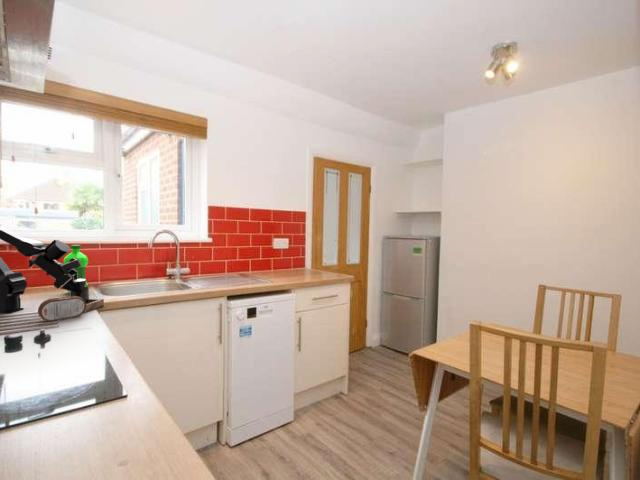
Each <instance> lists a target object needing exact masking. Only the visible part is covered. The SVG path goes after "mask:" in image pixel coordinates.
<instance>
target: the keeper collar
mask: <svg viewBox="0 0 640 480" xmlns="http://www.w3.org/2000/svg"><path fill="white" fill-rule="evenodd" d="M104 303H105V302H104V299H102V298H89V303H88V304H86V309H85V311H84V312H83V313H82V314H85V313H88V312H90V311H93V310H96V309H98V308H102V307H104V306H105V304H104Z"/></svg>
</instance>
